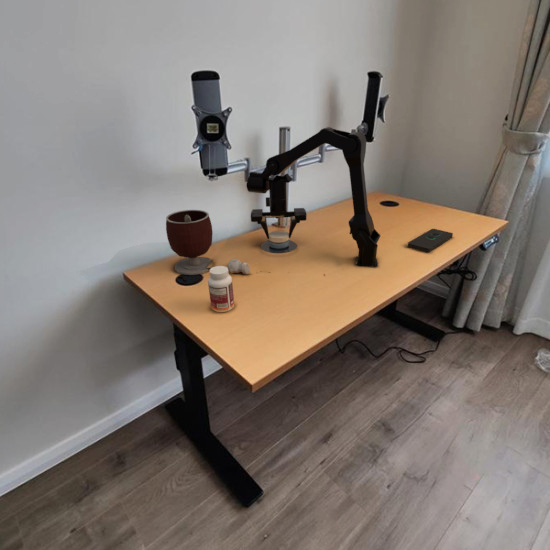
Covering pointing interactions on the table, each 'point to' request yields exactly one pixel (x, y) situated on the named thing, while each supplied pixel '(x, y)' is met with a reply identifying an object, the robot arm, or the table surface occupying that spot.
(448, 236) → the smart home device
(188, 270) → the mate gourd
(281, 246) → the blue saucer
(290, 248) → the charcoal plate
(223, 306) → the pill bottle
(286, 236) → the cream saucer
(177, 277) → the table surface
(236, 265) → the pale two-lobed sculpture
